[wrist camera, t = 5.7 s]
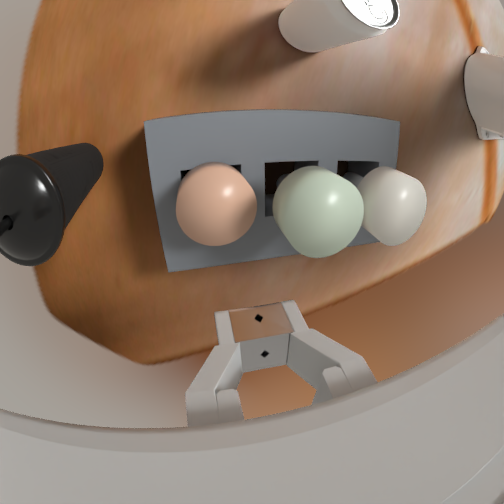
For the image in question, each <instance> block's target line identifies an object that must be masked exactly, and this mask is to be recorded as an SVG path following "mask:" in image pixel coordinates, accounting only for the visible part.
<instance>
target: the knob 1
mask: <svg viewBox="0 0 504 504" xmlns="http://www.w3.org/2000/svg"><path fill="white" fill-rule="evenodd" d="M256 212H257V200H256V196H255V193H254V191H253V189H252V187H251V186H250V185H249V183H248V182H247V181H246V179H245V178H244V177H243V176H242V174H241V173H240V172H239V171H238V170H237V169H235V168H234V167H232V166H230V165H228V164H226V163H222V162H207V163H203V164H200V165H198V166H196V167H195V168H193V169H192V170H190V171H189V172H188V173H187V174H186V175H185V176H184V178H183V179H182V181H181V183H180V185H179V188H178V193H177V202H176V216H177V221H178V223H179V225H180V227H181V229H182V230H183V232H184V233H185V234H186V235H187V236H188V237H189V238H191V239H192V240H194V241H195V242H198V243H200V244H203V245H208V246H221V245H226V244H229V243H231V242H234V241H236V240H237V239H239V238H240V237H242V236H243V235H244V234H245V233H246V232H247V231H248V230H249V228H250V227H251V225H252V224H253V222H254V219H255V216H256Z"/></svg>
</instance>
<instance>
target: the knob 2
mask: <svg viewBox="0 0 504 504" xmlns="http://www.w3.org/2000/svg"><path fill="white" fill-rule="evenodd" d="M342 178H344V179H346V180H348V181H349V182H351V183H352V184H353V185H354V186H355V187H356V188H357V189H358V191H359V192H360V194H361V196H362V199H363V204H364V216H363V221H362V224H361V226H362V227H364V228H365V229H366V230H367V231H368V232H370V233H371V234H372V235H373V236H374V237H376V238H377V239H378V240H379V241H380V242H382V243H383V244H385V245H388V246H396V245H399V244H402V243H404V242H405V241H407V240H408V239H409V238H410V237H412V236H413V235H414V233H415V232H416V231H417V229H418V228H419V226H420V225H421V223H422V221H423V218H424V215H425V212H426V206H427V197H426V192H425V189H424V187H423V185H422V184H421V182H420V181H418V180H417V179H415V178H413V177H411V176H409V175H407V174H405V173H403V172H400V171H398V170H396V169H394V168H391V167H387V166H382V167H378V168H375V169H373V170H372V171H370V172H369V173H368V174H367V175H366V176H365V177H362V176H360V175H358V174H356V173H354V172H347V173H346V174H344V176H343V177H342Z"/></svg>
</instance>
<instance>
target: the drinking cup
mask: <svg viewBox="0 0 504 504" xmlns="http://www.w3.org/2000/svg"><path fill="white" fill-rule="evenodd" d="M102 170H103V158H102V155H101V153H100V152H99V150H98V149H97V148H96V147H95V146H93V145H91V144H88V143H80V144H75V145H69V146H64V147H59V148H54V149H49V150H45V151H40V152H36V153H32V154H28V155H22V154H15V155H10V156H7V157H5V158H3V159H1V160H0V253H1V254H3V255H4V256H5V257H6V258H8V259H9V260H11V261H13V262H15V263H17V264H20V265H24V266H35V265H39V264H42V263H44V262H46V261H47V260H49V259H50V258H51V257H52V256H53V255H54V253H55V252H56V251H57V249H58V247H59V246H60V244H61V241H62V238H63V235H64V230H65V228H66V227H67V225H68V223H69V222H70V220H71V219H72V217H73V215H74V214H75V212H76V211H77V209H78V208H79V206H80V205H81V203H82V202H83V200H84V199H85V197H86V196H87V194H88V193H89V191H90V190H91V189H92V187H93V186H94V184H95V183H96V182H97V180H98V179H99V177H100V176H101V173H102Z"/></svg>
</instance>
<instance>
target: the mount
mask: <svg viewBox="0 0 504 504" xmlns="http://www.w3.org/2000/svg"><path fill="white" fill-rule="evenodd" d="M144 128H145V138H146V147H147V155H148V163H149V170H150V177H151V184H152V191H153V197H154V203H155V209H156V214H157V220H158V225H159V230H160V235H161V240H162V245H163V250H164V255H165V259H166V264H167V268H168V272H175V271H183V270H190V269H197V268H205V267H212V266H219V265H226V264H233V263H240V262H247V261H255V260H262V259H269V258H275V257H282V256H289V255H296V254H300V253H299V252H298V251H296V250H295V249H294V248H293V246H292V245H291V244H290V242H289V241H288V239H287V238H286V237H285V235H284V234H283V232H282V231H281V229H280V228H279V227H278V225H277V223H276V222H275V219H274V216H273V208H272V206H273V199H274V195H275V194H265V163H266V162H286V161H295V163H294V171H295V170H297V169H300V168H302V167H306V166H319V167H323V168H326V169H328V170H329V171H331V172H333V173H335V174H337V166H338V161H348V172H354V173H356V174H358V175H360V176H362V177H365V176H366V175H367V174H368V173H369V172H370V171H372V170H373V169H375V168H378V167H382V166H387V167H391V168H394V169H396V164H397V155H398V145H399V133H400V122H399V121H394V120H389V119H384V118H378V117H372V116H366V115H358V114H350V113H340V112H328V111H313V110H288V109H256V110H230V111H215V112H204V113H194V114H185V115H177V116H170V117H163V118H157V119H152V120H148V121H144ZM207 162H222V163H226V164H228V165H231V166H232V167H234V168H235V169H237V170H238V171H239V172H240V173H241V174H242V176H243V177H244V178H245V179H246V181H247V182H248V183H249V185H250V186H251V187H252V189H253V191H254V193H255V196H256V200H257V212H256V216H255V219H254V222H253V224H252V225H251V227H250V228H249V230H248V231H247V232H246V233H245V234H244V235H243V236H242V237H240V238H239V239H237V240H236V241H234V242H231V243H229V244H226V245H221V246H208V245H203V244H200V243H198V242H195V241H194V240H192V239H191V238H189V237H188V236H187V235H186V234H185V233H184V232H183V230H182V229H181V227H180V225H179V223H178V221H177V216H176V202H177V193H178V188H179V185H180V183H181V181H182V179H183V178H184V172H183V170H190V169H193V168H195V167H196V166H198V165H200V164H203V163H207ZM376 242H380V241H379V240H378V239H377V238H376V237H374V236H373V235H372V234H371V233H370V232H368V231H367V230H366V229H365V228H364V227H362V226H361V227H360V229H359V231H358V233H357V235H356V236H355V237H354V239H353V240H352V241H351V242H350V243H349V244H348V245H347V246H346V247H350V246H357V245H363V244H370V243H376Z"/></svg>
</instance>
